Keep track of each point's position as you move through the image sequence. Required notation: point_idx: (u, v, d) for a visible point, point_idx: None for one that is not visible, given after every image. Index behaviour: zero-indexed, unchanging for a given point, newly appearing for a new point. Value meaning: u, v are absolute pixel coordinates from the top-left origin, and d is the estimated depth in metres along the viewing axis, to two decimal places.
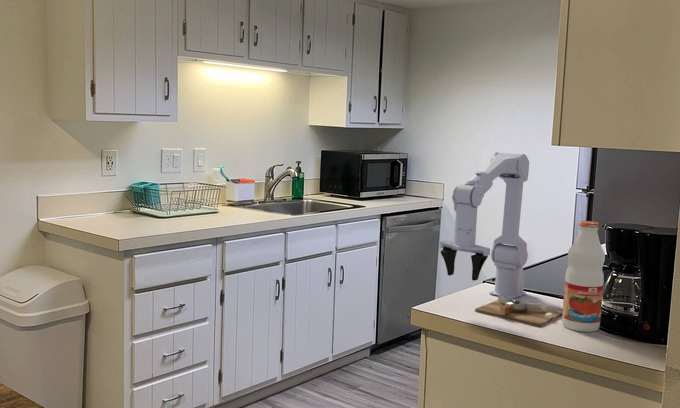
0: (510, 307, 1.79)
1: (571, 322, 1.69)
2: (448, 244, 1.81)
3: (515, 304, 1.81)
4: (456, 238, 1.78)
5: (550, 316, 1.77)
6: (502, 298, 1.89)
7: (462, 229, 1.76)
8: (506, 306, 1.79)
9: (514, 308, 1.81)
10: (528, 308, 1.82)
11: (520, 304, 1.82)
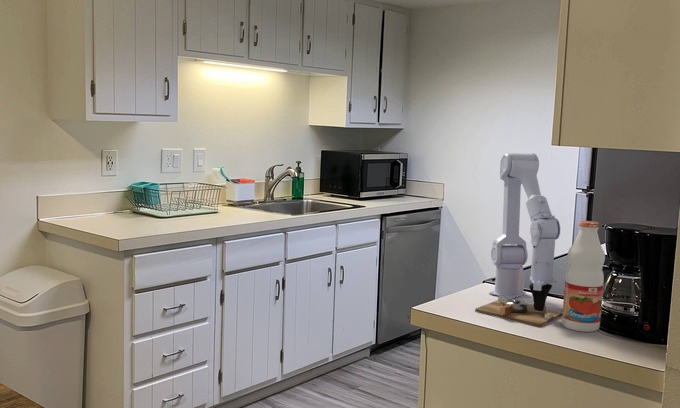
0: (510, 307, 1.79)
1: (571, 322, 1.69)
2: (546, 282, 1.75)
3: (515, 304, 1.81)
4: (551, 273, 1.77)
5: (550, 316, 1.77)
6: (502, 298, 1.89)
7: (553, 262, 1.78)
8: (506, 306, 1.79)
9: (514, 308, 1.81)
10: (528, 308, 1.82)
11: (520, 304, 1.82)
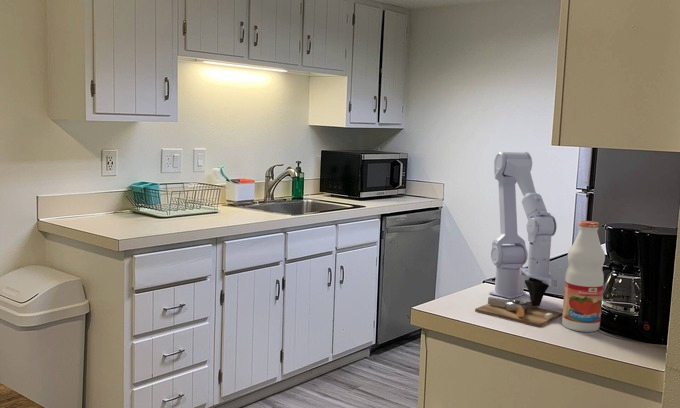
0: None
1: (571, 322, 1.69)
2: None
3: (520, 304, 1.81)
4: None
5: (550, 316, 1.77)
6: (495, 300, 1.86)
7: None
8: (520, 308, 1.77)
9: None
10: (526, 306, 1.84)
11: (522, 303, 1.82)
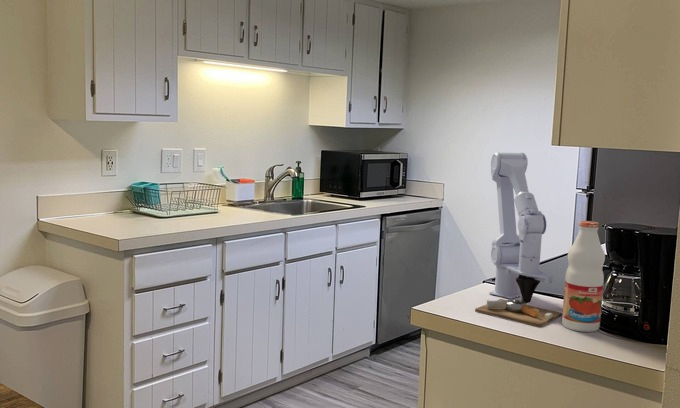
0: None
1: (571, 322, 1.69)
2: None
3: (522, 304, 1.82)
4: None
5: (550, 316, 1.77)
6: (495, 303, 1.83)
7: None
8: (531, 308, 1.78)
9: None
10: None
11: (522, 302, 1.83)
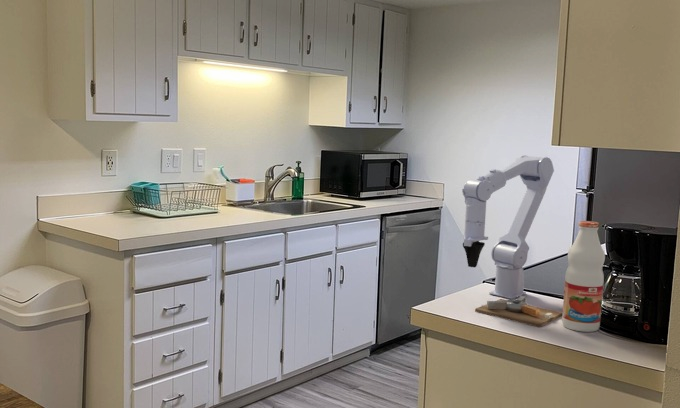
0: None
1: (571, 322, 1.69)
2: (476, 239, 1.87)
3: (522, 304, 1.82)
4: (482, 231, 1.89)
5: (550, 316, 1.77)
6: (495, 303, 1.83)
7: None
8: (532, 307, 1.78)
9: None
10: None
11: (522, 302, 1.83)
